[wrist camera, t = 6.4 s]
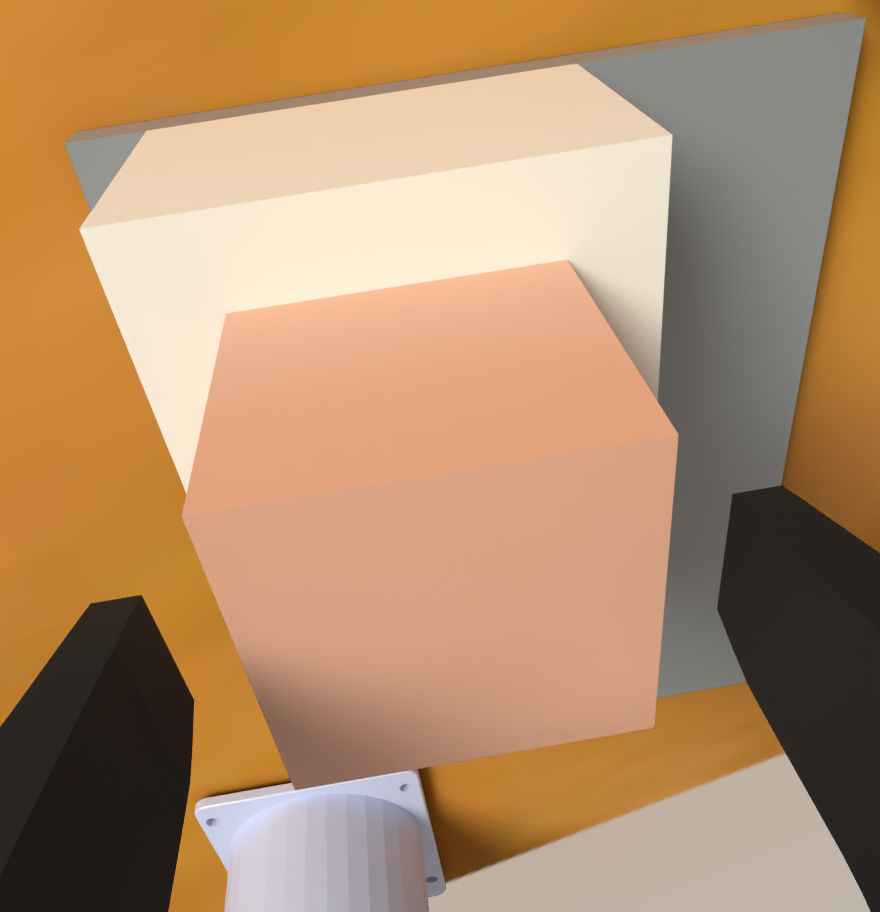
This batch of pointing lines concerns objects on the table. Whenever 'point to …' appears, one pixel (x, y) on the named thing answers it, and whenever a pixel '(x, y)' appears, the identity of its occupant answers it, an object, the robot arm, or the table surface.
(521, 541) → the orange brick
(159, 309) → the cream base brick
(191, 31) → the table surface
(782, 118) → the plate
